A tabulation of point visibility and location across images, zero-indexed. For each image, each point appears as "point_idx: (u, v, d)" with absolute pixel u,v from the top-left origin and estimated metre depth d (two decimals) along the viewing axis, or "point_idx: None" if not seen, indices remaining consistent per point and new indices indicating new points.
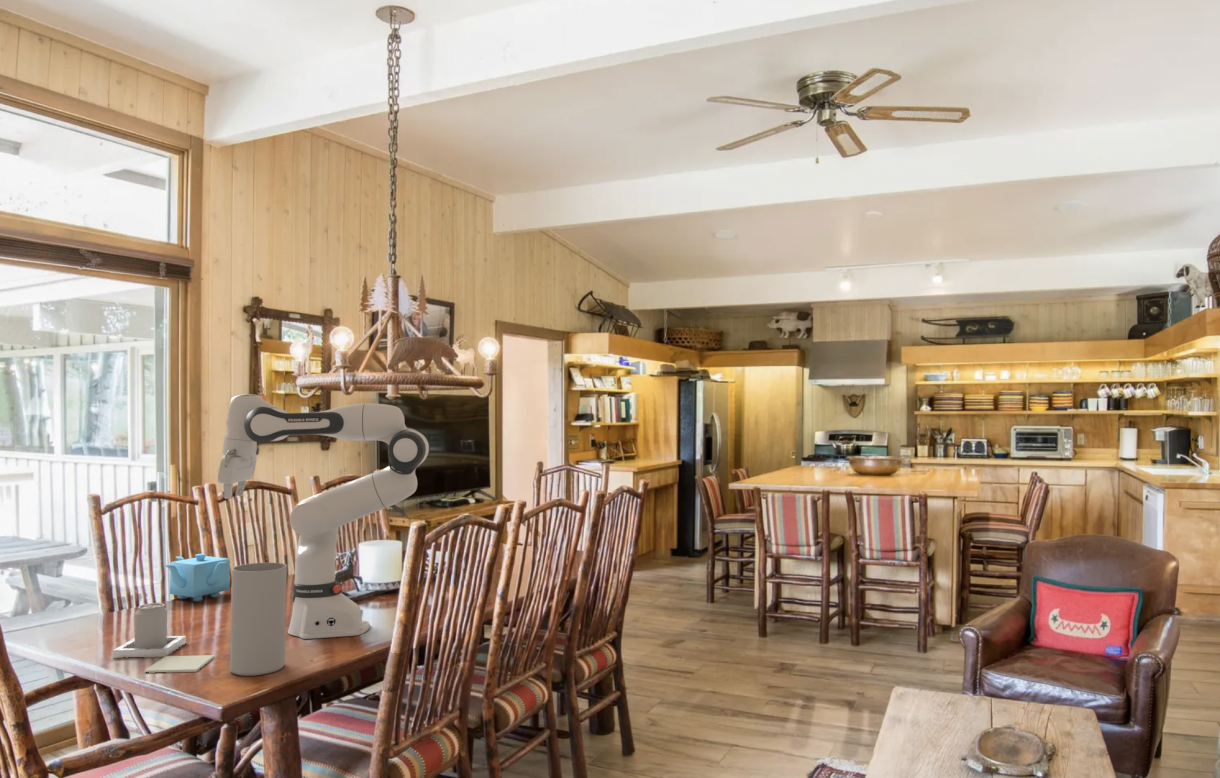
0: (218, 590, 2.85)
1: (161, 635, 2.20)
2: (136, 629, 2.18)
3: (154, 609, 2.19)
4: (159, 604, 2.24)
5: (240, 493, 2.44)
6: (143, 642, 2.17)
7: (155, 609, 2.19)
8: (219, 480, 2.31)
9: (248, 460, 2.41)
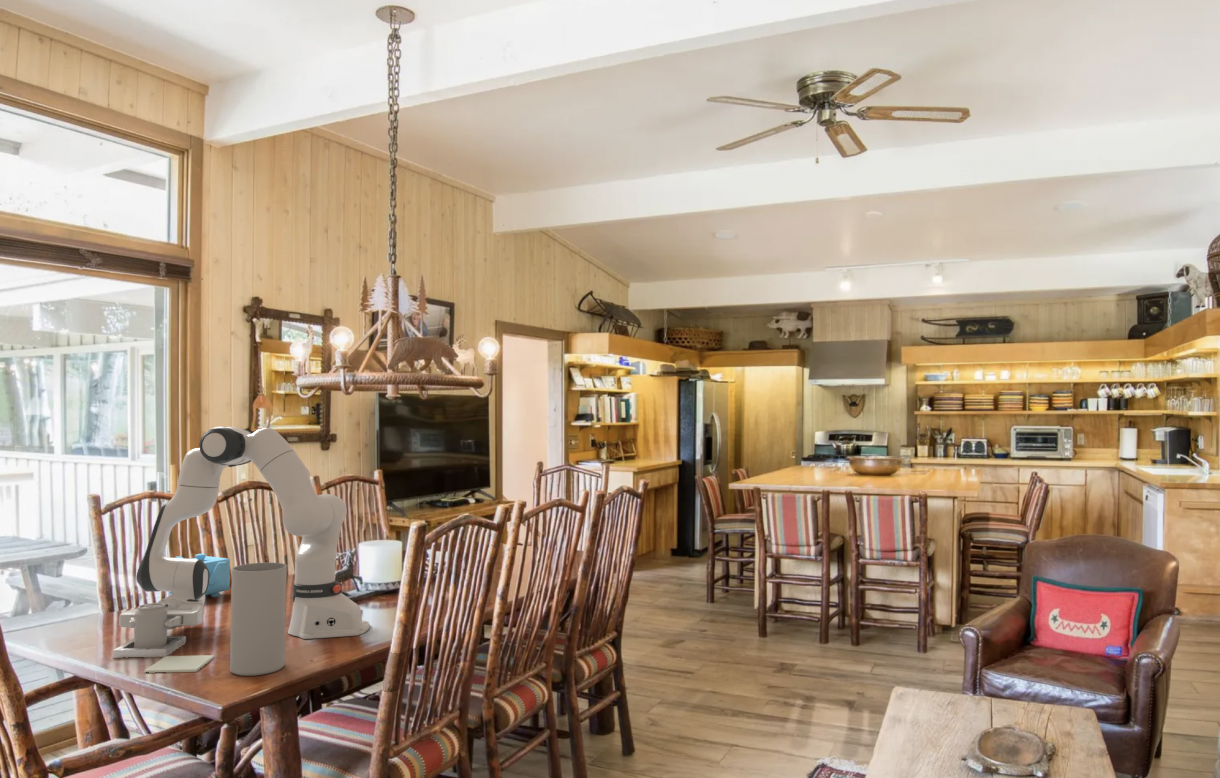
0: (218, 590, 2.85)
1: (161, 635, 2.20)
2: (136, 629, 2.18)
3: (154, 609, 2.19)
4: (159, 604, 2.24)
5: None
6: (143, 642, 2.17)
7: (155, 609, 2.19)
8: (119, 624, 2.24)
9: (164, 603, 2.31)
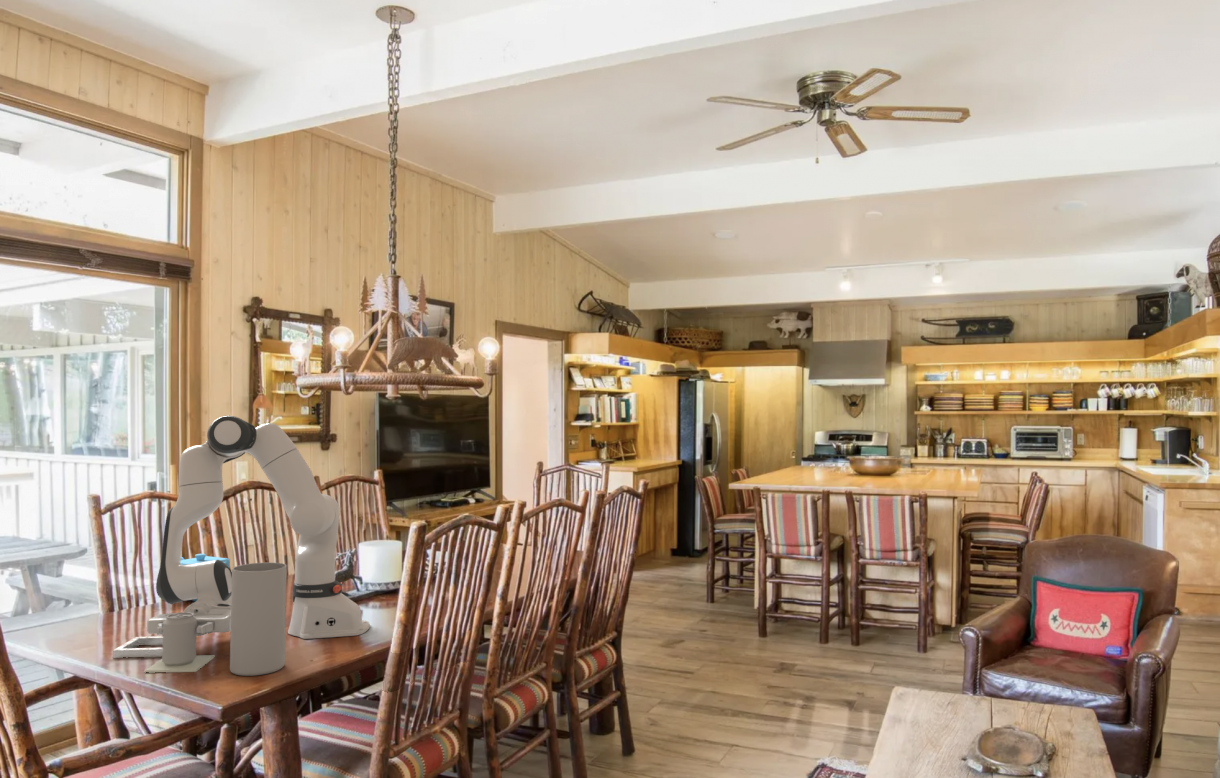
0: None
1: (191, 646, 2.07)
2: (164, 640, 2.05)
3: (184, 619, 2.06)
4: (188, 613, 2.11)
5: None
6: (172, 653, 2.04)
7: (184, 619, 2.06)
8: (147, 630, 2.12)
9: (194, 608, 2.18)
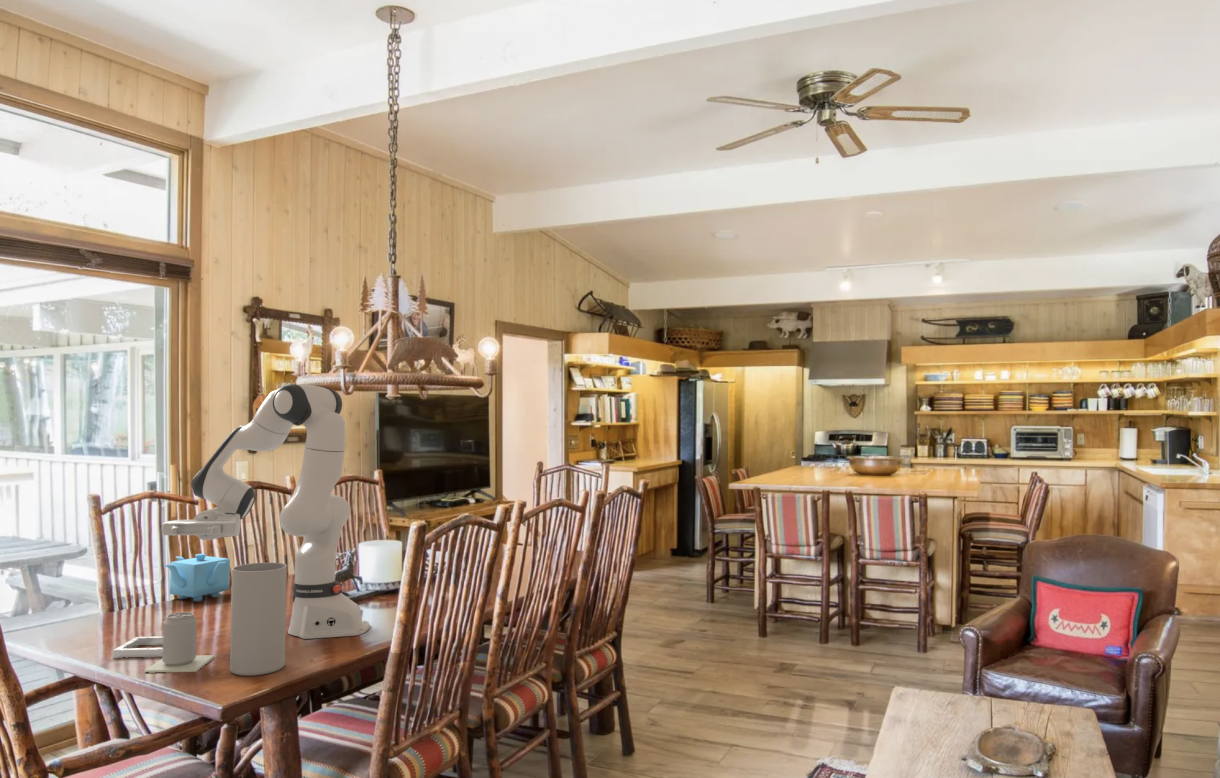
0: (218, 590, 2.85)
1: (191, 646, 2.07)
2: (164, 640, 2.05)
3: (183, 619, 2.06)
4: (188, 613, 2.11)
5: None
6: (172, 653, 2.05)
7: (184, 619, 2.06)
8: (162, 533, 2.37)
9: (204, 515, 2.43)
